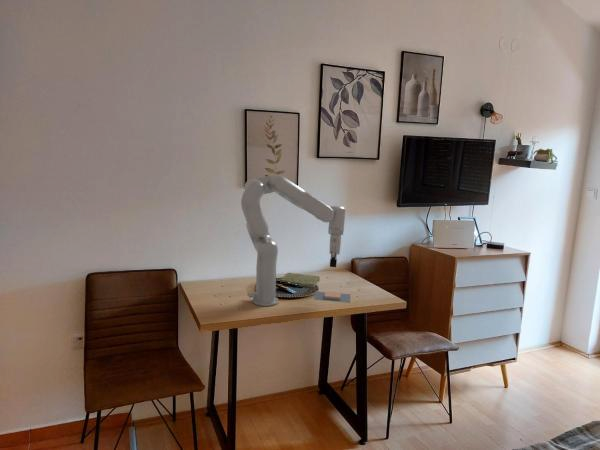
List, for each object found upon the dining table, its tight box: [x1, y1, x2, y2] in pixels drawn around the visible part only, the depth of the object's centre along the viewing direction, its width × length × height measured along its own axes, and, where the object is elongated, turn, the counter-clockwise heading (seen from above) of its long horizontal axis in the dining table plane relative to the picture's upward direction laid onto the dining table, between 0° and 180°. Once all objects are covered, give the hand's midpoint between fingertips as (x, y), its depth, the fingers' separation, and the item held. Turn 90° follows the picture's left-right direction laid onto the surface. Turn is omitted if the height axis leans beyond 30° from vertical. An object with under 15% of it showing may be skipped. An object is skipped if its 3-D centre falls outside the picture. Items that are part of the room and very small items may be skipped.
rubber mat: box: [313, 291, 352, 303], centre depth 220 cm, size 18×13×1 cm
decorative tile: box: [280, 272, 321, 288], centre depth 244 cm, size 19×20×4 cm
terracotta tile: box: [324, 290, 342, 300], centre depth 219 cm, size 8×2×8 cm
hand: (332, 266), depth 217 cm, fingers closed
